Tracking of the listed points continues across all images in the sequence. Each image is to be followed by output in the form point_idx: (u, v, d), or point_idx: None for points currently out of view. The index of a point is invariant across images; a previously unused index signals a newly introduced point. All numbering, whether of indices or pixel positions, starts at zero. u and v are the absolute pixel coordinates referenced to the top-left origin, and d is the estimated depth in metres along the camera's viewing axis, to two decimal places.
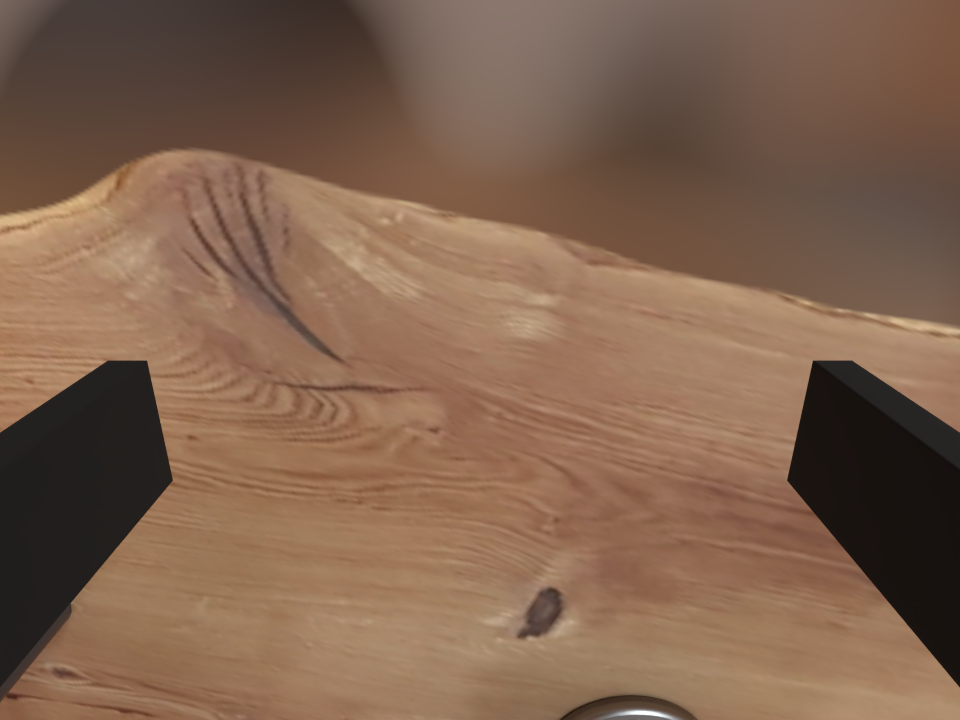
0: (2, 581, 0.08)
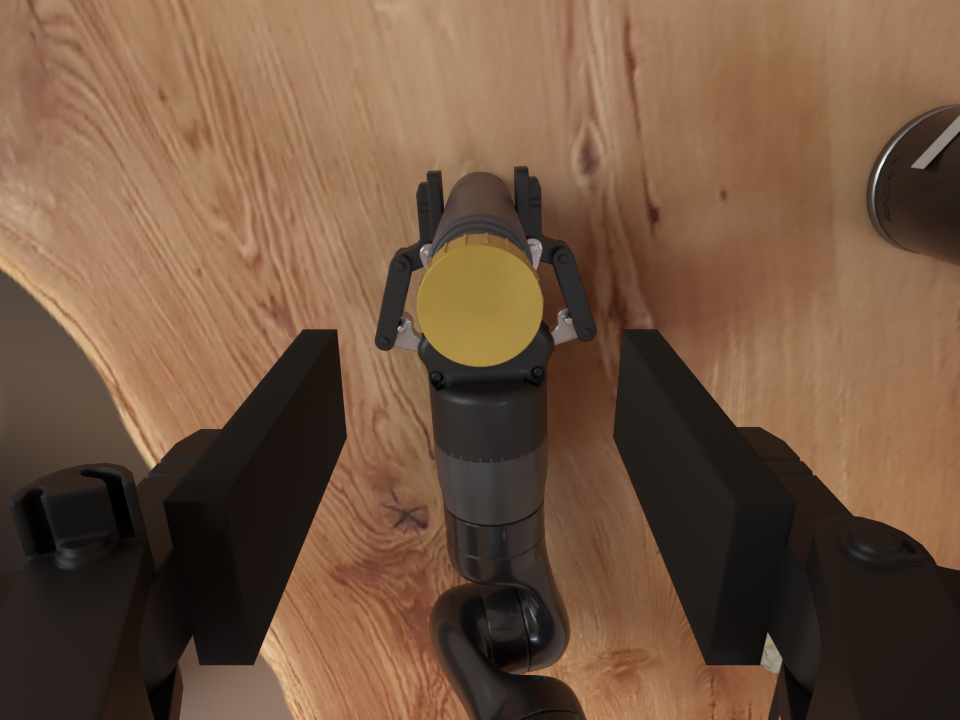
0: (286, 501, 0.10)
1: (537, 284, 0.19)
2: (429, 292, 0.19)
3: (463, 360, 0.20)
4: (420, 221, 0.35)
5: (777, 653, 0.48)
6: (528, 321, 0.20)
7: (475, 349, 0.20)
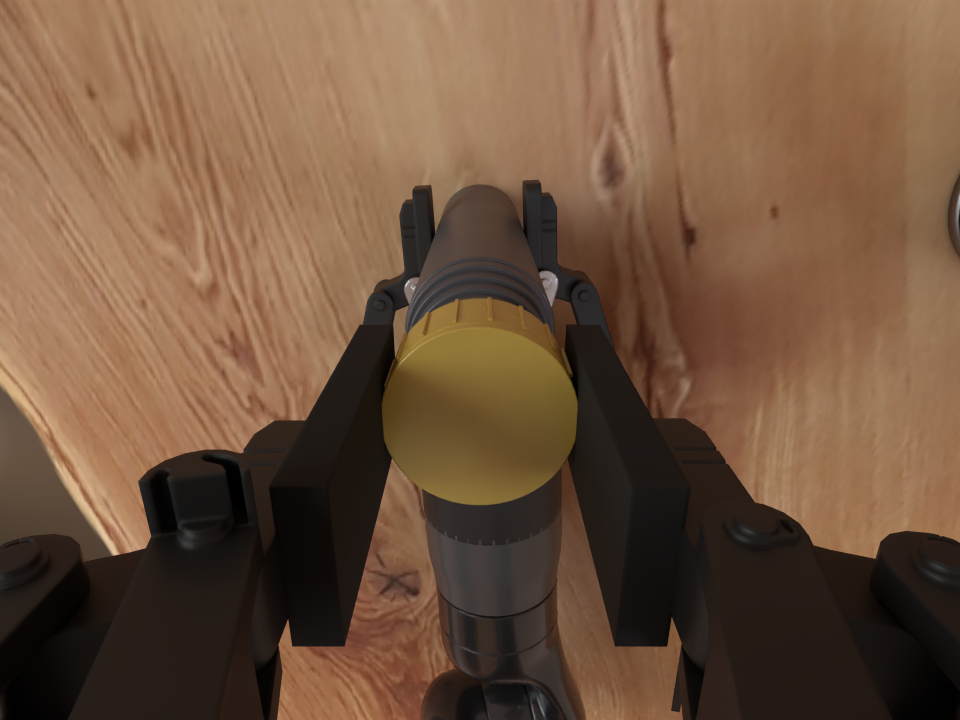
0: (363, 489, 0.10)
1: (570, 386, 0.12)
2: (399, 398, 0.12)
3: (454, 496, 0.13)
4: (405, 249, 0.28)
5: None
6: (555, 440, 0.13)
7: (472, 480, 0.13)
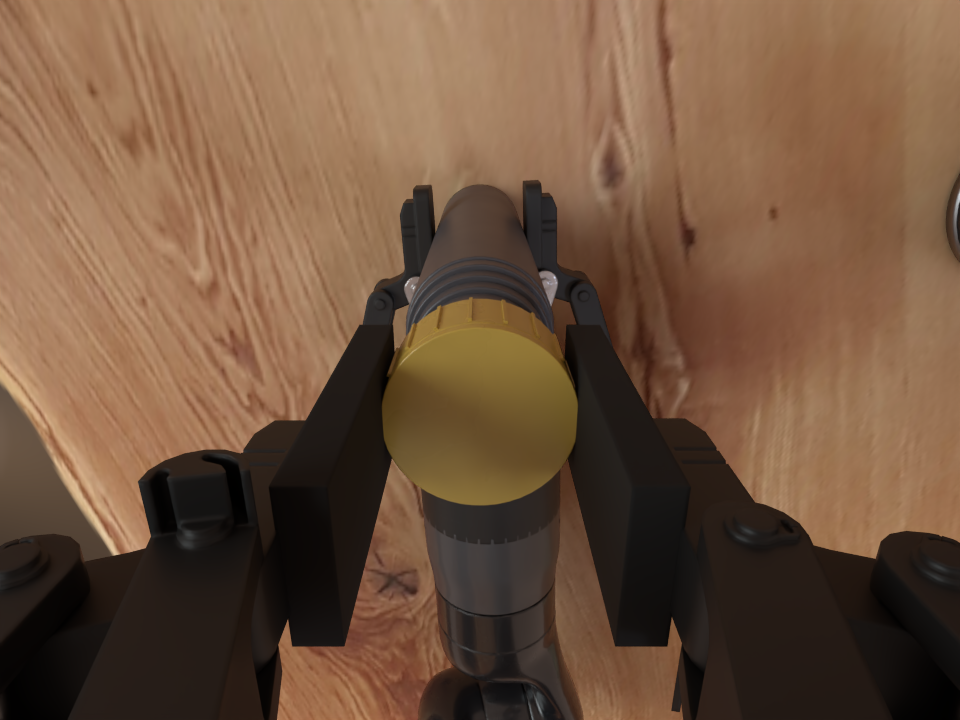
0: (363, 489, 0.10)
1: (408, 358, 0.12)
2: (484, 492, 0.13)
3: (572, 416, 0.12)
4: (405, 248, 0.28)
5: None
6: (471, 348, 0.12)
7: (547, 405, 0.12)
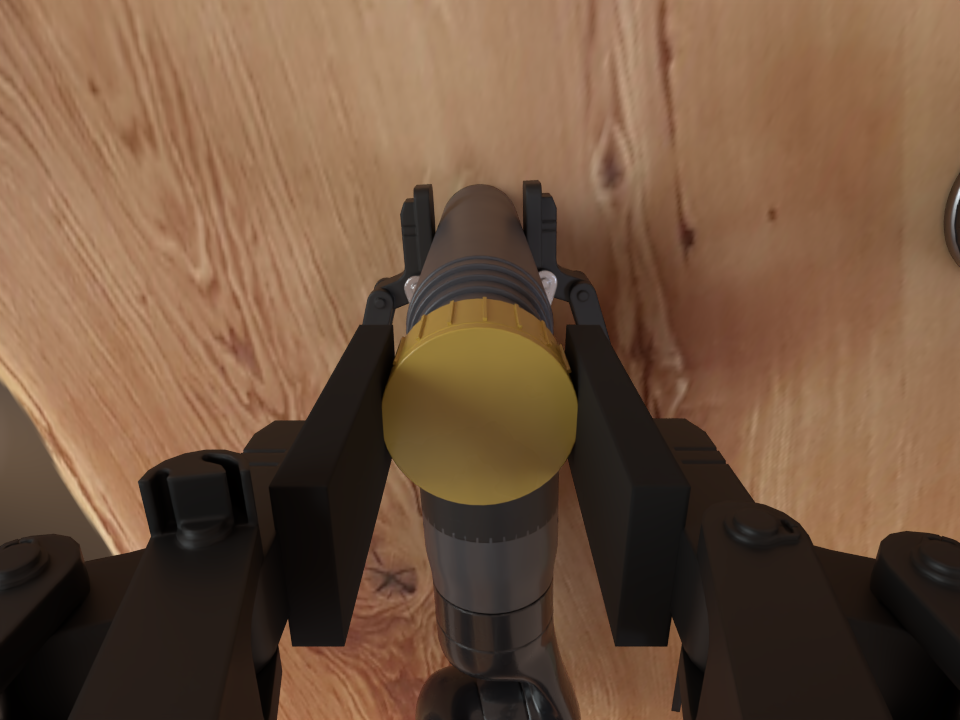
0: (363, 489, 0.10)
1: (443, 496, 0.13)
2: (556, 390, 0.12)
3: (437, 344, 0.12)
4: (405, 248, 0.28)
5: None
6: (410, 454, 0.13)
7: (437, 371, 0.12)
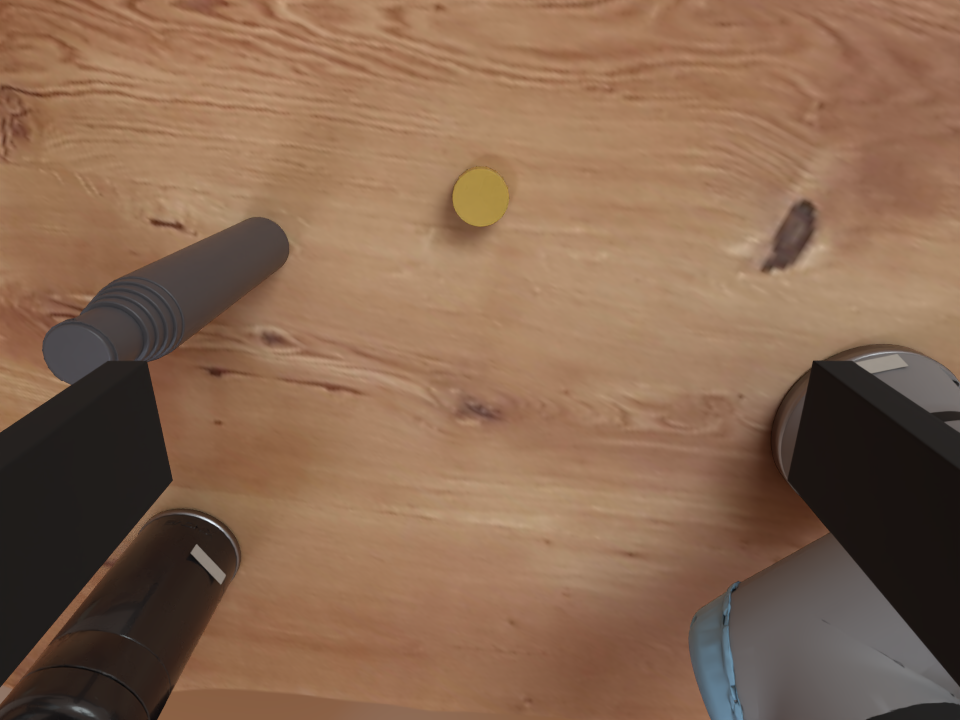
0: (2, 581, 0.08)
1: (508, 199, 0.44)
2: (463, 181, 0.44)
3: (463, 217, 0.45)
4: None
5: None
6: (497, 213, 0.45)
7: (470, 215, 0.45)
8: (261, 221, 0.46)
